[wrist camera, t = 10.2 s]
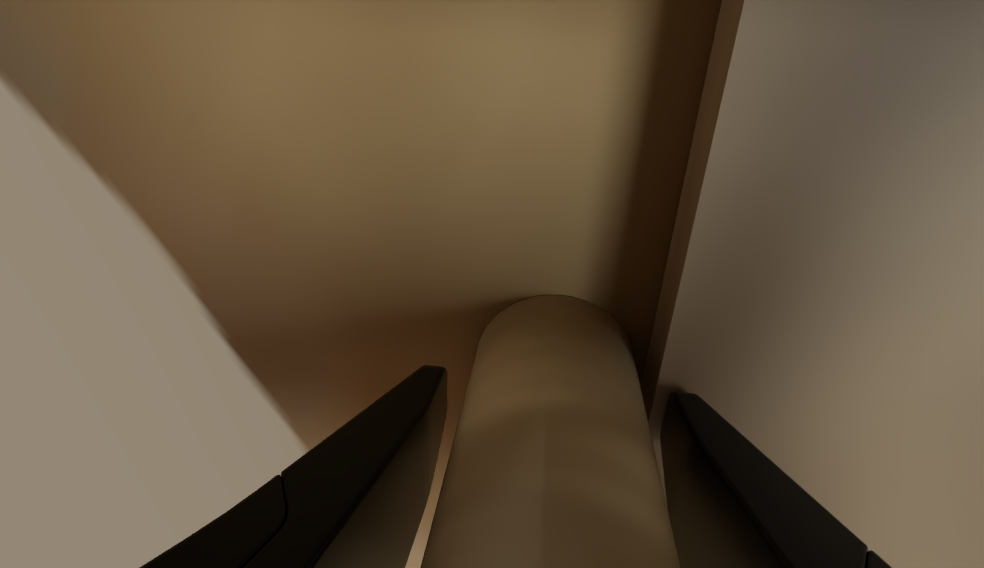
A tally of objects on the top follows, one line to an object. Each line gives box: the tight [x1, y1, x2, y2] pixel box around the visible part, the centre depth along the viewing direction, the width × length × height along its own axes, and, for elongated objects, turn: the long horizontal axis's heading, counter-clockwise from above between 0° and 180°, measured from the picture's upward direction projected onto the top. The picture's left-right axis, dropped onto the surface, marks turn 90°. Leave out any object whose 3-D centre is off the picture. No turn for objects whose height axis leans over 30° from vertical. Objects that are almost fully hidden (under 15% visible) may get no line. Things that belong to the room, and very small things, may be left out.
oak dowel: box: [421, 295, 680, 568], centre depth 7 cm, size 3×3×6 cm
